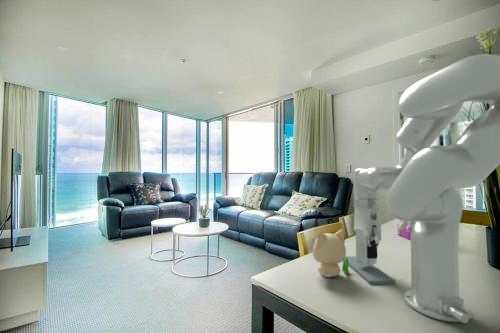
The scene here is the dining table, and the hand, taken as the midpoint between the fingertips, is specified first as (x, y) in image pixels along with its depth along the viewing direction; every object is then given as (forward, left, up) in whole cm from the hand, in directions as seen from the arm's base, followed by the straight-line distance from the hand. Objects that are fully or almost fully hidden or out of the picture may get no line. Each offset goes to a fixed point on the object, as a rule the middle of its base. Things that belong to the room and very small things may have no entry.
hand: (366, 253), depth 80 cm
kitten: (-3, +14, -6) cm, 15 cm away
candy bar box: (+38, -43, -6) cm, 58 cm away
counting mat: (0, +1, -6) cm, 6 cm away
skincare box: (0, 0, -3) cm, 3 cm away
